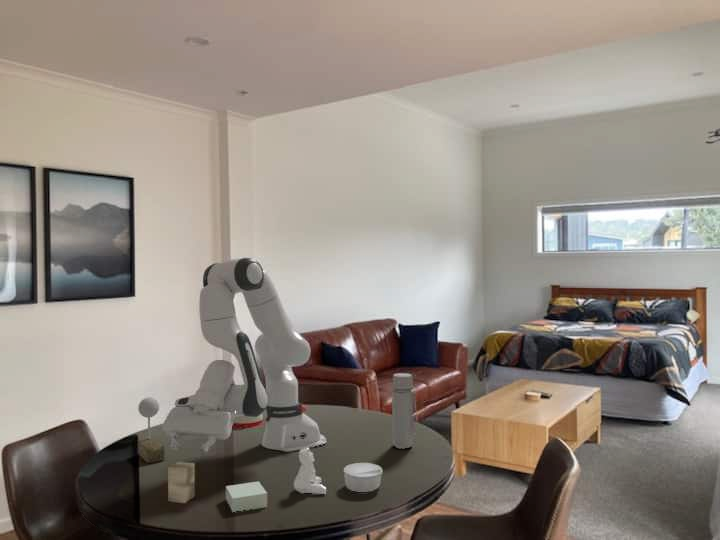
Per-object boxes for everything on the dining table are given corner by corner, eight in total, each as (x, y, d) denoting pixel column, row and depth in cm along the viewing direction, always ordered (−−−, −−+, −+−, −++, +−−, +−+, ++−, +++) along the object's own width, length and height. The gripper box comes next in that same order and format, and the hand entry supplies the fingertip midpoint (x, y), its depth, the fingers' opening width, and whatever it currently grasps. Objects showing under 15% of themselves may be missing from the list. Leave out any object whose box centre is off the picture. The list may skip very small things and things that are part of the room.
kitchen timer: (229, 418, 243) (229, 382, 243) (263, 417, 245) (263, 381, 245) (225, 428, 230) (225, 389, 229) (261, 427, 231) (261, 388, 231)
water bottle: (388, 449, 204) (388, 376, 204) (395, 442, 211) (396, 372, 211) (414, 452, 201) (414, 378, 200) (421, 445, 208) (421, 374, 207)
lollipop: (163, 437, 218) (163, 396, 218) (150, 442, 211) (150, 400, 211) (147, 435, 220) (147, 394, 220) (134, 440, 213) (133, 398, 213)
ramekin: (369, 498, 162) (369, 479, 162) (335, 490, 168) (335, 471, 168) (389, 485, 172) (389, 467, 172) (356, 477, 178) (356, 460, 178)
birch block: (178, 494, 165) (178, 461, 165) (194, 496, 164) (194, 463, 164) (168, 501, 160) (168, 468, 160) (185, 503, 159) (184, 469, 159)
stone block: (147, 464, 189) (147, 449, 189) (137, 455, 198) (136, 440, 198) (165, 461, 192) (165, 445, 192) (154, 452, 202) (154, 437, 202)
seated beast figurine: (327, 495, 164) (327, 451, 164) (296, 498, 162) (296, 454, 162) (320, 482, 173) (320, 441, 173) (290, 486, 171) (290, 444, 171)
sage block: (258, 495, 165) (258, 481, 165) (267, 508, 156) (267, 493, 156) (225, 500, 161) (225, 486, 161) (232, 514, 153) (232, 498, 153)
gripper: (241, 415, 176) (225, 458, 166) (179, 410, 181) (160, 452, 171) (234, 403, 172) (218, 446, 162) (171, 399, 177) (151, 441, 167)
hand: (188, 449), depth 167 cm, fingers open, 8 cm apart
